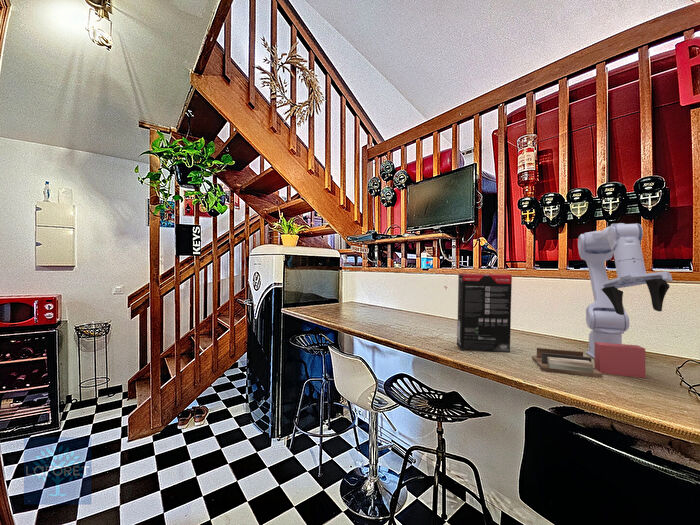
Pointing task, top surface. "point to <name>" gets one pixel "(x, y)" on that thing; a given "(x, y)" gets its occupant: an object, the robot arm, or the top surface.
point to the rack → (565, 362)
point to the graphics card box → (484, 312)
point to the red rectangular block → (620, 359)
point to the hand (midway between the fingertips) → (638, 312)
